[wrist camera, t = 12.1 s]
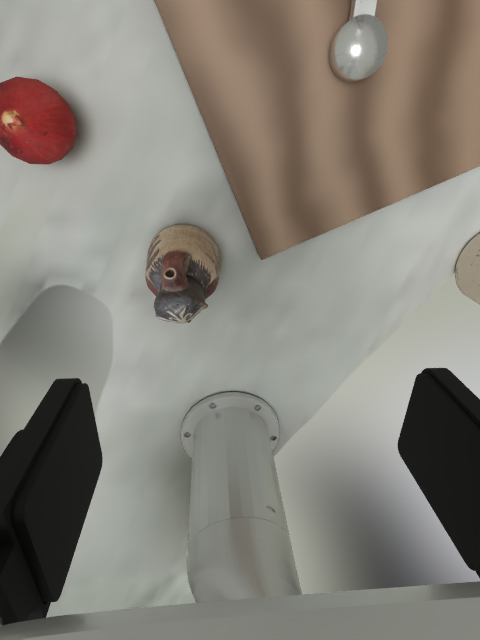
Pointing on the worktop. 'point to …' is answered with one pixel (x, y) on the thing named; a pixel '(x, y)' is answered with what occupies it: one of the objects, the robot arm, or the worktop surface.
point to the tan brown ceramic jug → (182, 271)
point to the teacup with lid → (469, 270)
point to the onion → (35, 121)
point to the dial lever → (359, 43)
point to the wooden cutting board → (329, 106)
